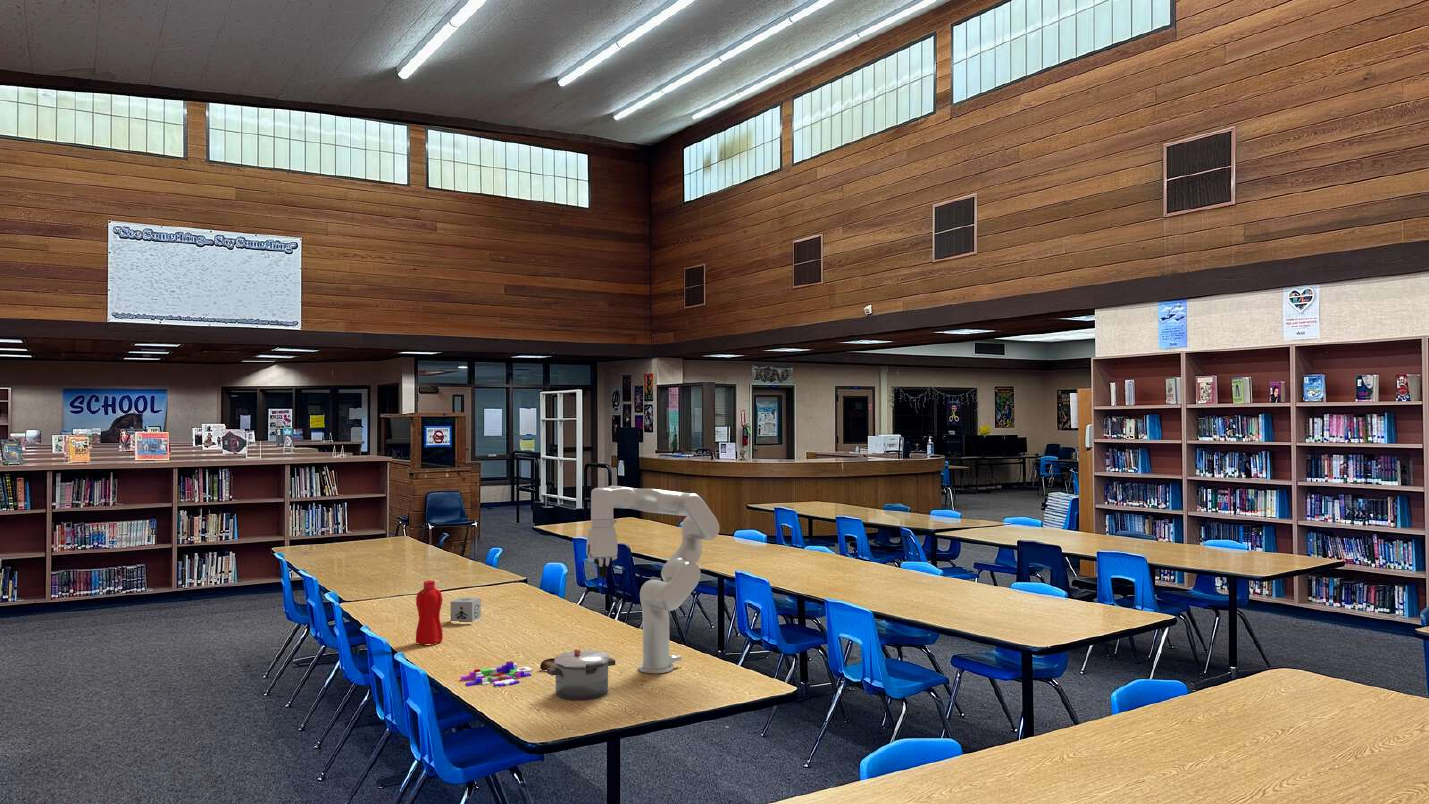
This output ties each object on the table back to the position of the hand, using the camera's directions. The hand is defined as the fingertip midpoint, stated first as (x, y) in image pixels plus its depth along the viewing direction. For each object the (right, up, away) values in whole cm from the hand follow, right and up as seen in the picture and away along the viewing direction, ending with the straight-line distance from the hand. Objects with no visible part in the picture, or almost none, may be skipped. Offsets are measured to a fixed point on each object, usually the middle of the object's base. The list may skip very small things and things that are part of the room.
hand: (602, 577), depth 309 cm
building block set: (-36, -36, +3) cm, 51 cm away
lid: (-4, -24, -16) cm, 29 cm away
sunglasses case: (-15, -36, +17) cm, 43 cm away
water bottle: (-77, -37, +54) cm, 101 cm away
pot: (-5, -35, -15) cm, 38 cm away
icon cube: (-73, -38, +93) cm, 125 cm away
